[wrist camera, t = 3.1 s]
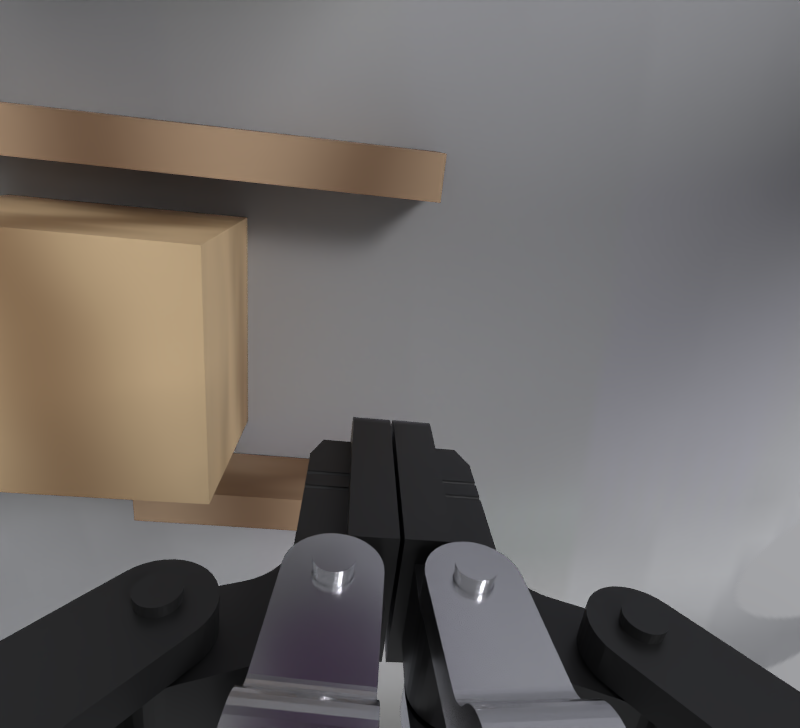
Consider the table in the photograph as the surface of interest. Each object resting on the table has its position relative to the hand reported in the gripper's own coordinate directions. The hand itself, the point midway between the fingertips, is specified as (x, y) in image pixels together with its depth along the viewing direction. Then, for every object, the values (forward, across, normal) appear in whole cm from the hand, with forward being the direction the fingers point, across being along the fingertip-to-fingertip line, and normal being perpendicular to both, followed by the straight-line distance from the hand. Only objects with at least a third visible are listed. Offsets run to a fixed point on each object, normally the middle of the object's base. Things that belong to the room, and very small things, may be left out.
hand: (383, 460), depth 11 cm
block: (+8, +8, 0) cm, 11 cm away
